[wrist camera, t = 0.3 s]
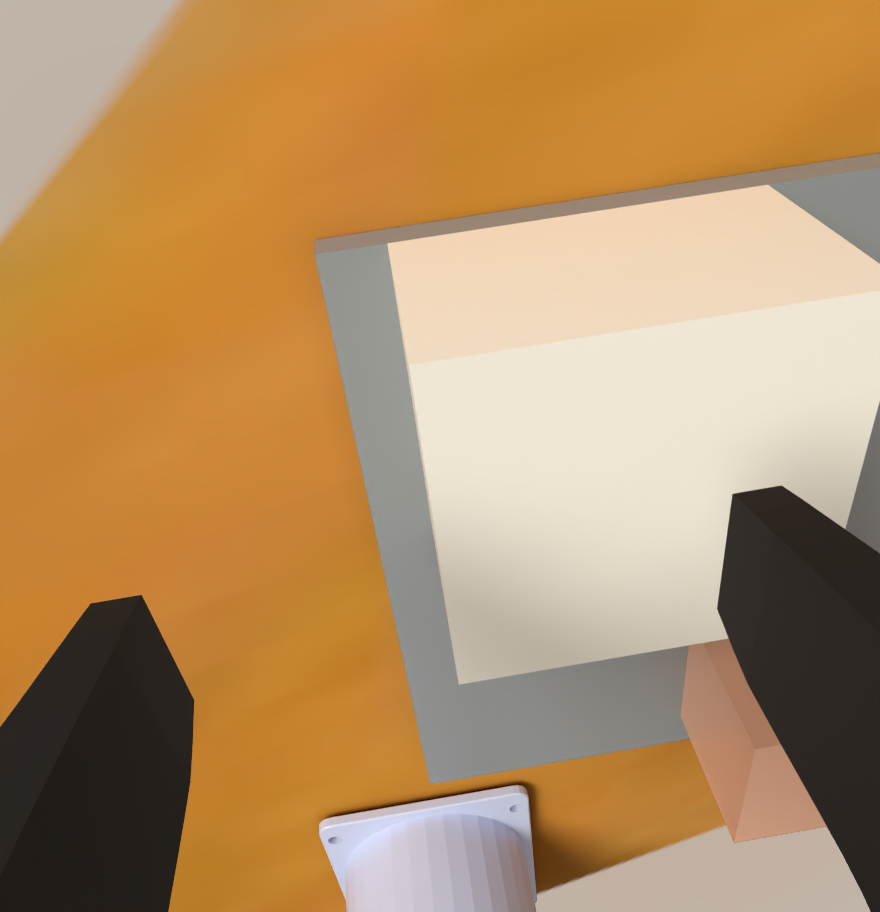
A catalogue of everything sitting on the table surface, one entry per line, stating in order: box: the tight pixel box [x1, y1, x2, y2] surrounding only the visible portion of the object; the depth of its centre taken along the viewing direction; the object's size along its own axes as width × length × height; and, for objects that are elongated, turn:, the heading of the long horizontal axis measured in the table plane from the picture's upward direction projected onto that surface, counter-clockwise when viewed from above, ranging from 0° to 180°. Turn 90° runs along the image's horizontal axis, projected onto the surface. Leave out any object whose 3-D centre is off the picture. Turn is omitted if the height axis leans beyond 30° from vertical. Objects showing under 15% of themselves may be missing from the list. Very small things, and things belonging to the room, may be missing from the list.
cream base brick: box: [387, 185, 880, 685], centre depth 17 cm, size 8×8×5 cm
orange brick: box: [680, 639, 827, 843], centre depth 24 cm, size 5×5×4 cm
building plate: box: [315, 153, 880, 784], centre depth 23 cm, size 20×15×1 cm
